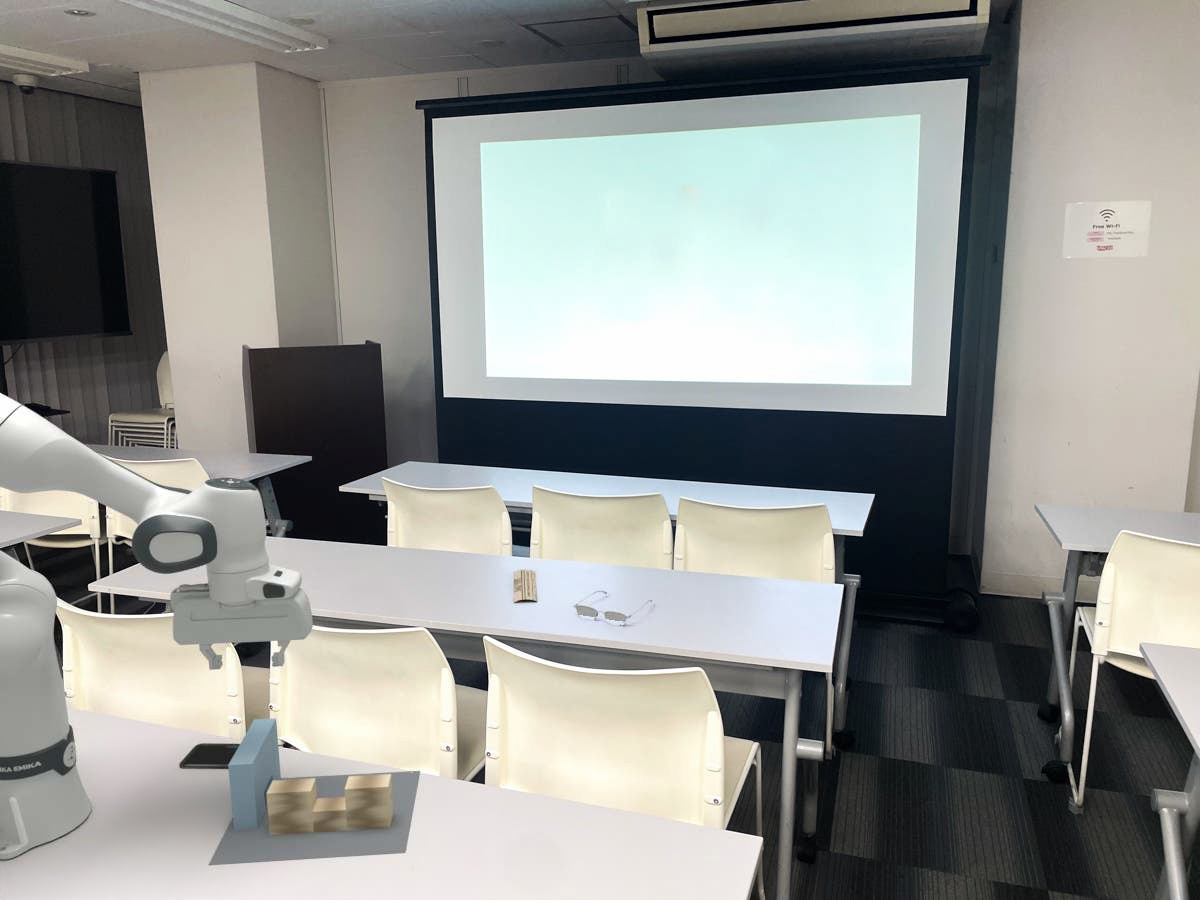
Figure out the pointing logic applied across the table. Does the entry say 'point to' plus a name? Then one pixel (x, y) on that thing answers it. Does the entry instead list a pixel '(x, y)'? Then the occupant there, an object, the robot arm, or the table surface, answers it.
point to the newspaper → (524, 585)
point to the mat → (324, 844)
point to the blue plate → (253, 773)
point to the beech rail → (330, 806)
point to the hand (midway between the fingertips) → (247, 666)
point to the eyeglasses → (608, 614)
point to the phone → (209, 756)
